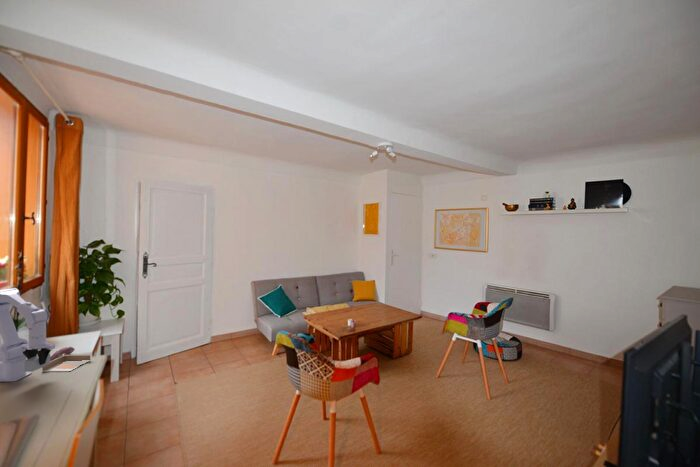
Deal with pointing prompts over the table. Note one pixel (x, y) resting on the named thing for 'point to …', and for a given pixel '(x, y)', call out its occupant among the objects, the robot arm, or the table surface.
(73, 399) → the table surface
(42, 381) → the table surface
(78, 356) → the tray
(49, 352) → the robot arm
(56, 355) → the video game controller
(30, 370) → the slate block
